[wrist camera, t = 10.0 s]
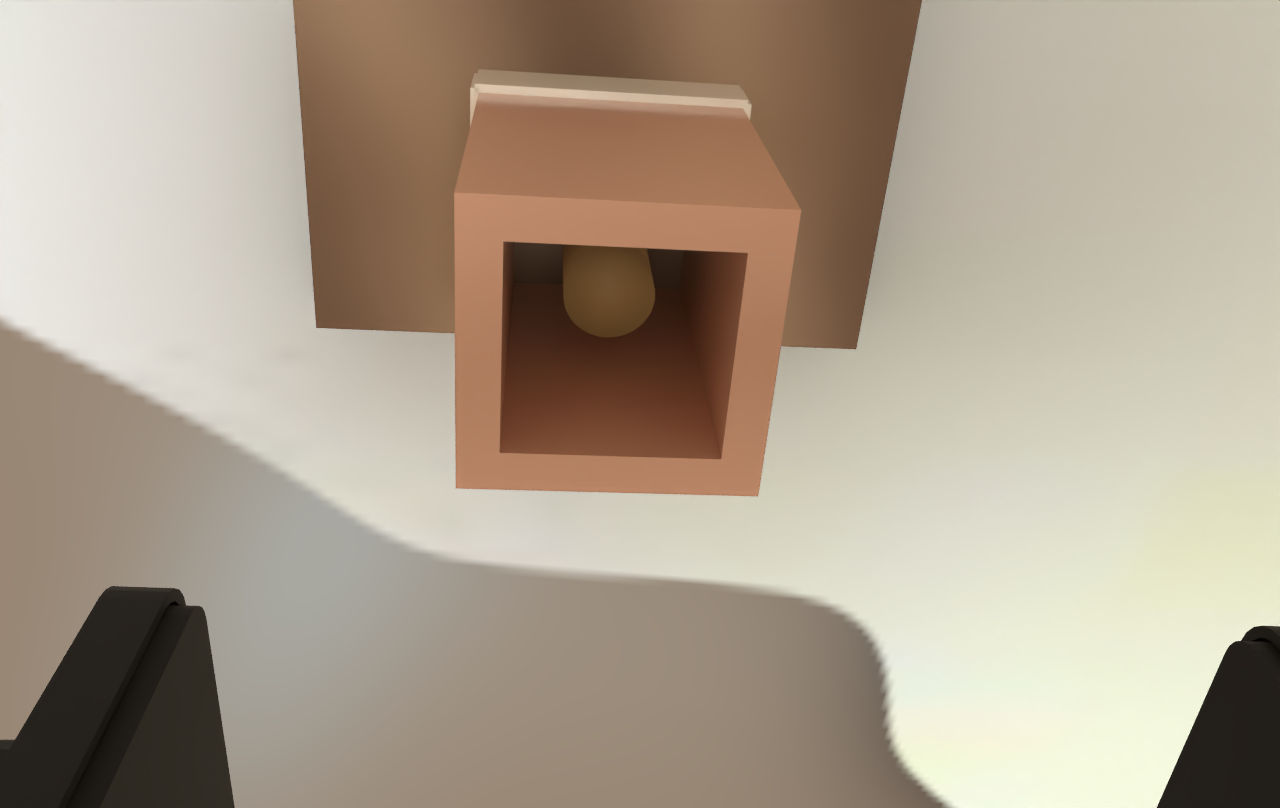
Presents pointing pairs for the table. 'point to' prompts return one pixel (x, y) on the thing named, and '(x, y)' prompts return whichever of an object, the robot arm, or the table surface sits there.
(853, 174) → the pin board
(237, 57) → the table surface
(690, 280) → the sleeve
